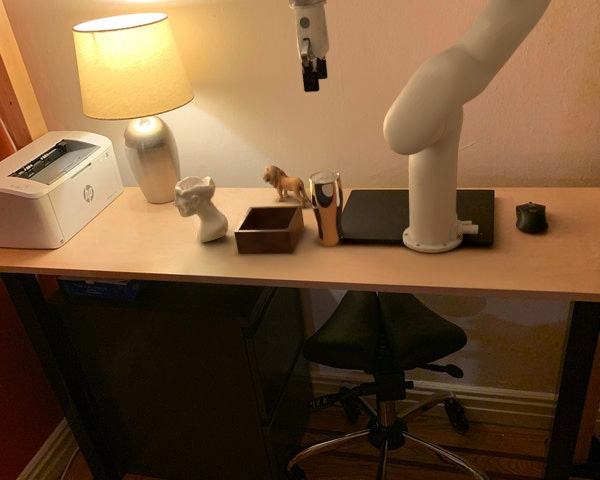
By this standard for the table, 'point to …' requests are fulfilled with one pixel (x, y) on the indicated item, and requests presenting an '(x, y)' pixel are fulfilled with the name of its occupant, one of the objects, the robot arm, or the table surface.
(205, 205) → the white sculpted bust
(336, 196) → the beer glass
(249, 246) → the tub
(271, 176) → the lion figurine
